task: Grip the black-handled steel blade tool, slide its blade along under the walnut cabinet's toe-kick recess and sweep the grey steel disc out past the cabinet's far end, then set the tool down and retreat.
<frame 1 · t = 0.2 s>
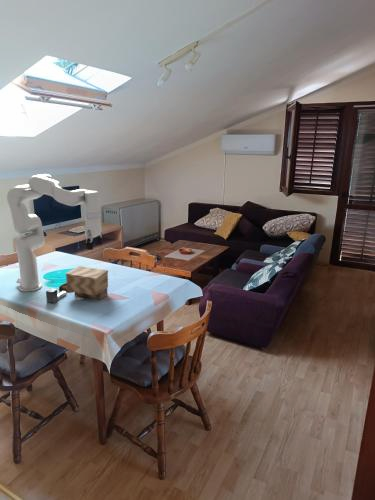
hand: (94, 246, 191), 31 cm above the table, fingers open, 9 cm apart
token: (79, 299, 201), on the table
cabinet: (88, 296, 203), on the table
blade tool: (52, 302, 195), on the table
sunglasses case: (73, 287, 216), on the table
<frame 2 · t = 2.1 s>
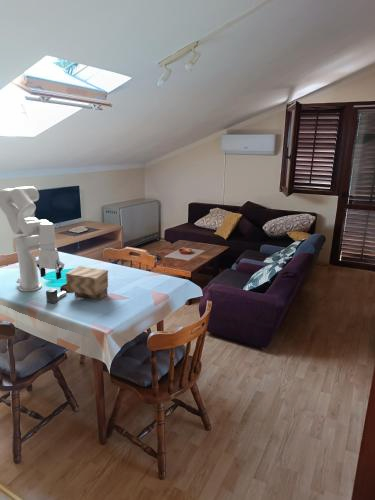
hand: (51, 277, 190), 14 cm above the table, fingers open, 9 cm apart
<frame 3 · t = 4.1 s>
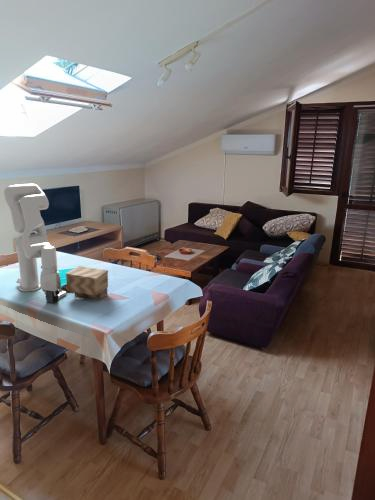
hand: (52, 300, 195), 1 cm above the table, fingers closed on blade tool, 4 cm apart
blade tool: (52, 302, 195), on the table, touching gripper
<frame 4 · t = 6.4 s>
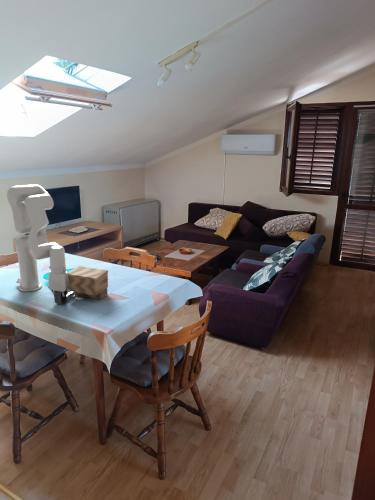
hand: (60, 301, 193), 2 cm above the table, fingers closed on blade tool, 4 cm apart
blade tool: (60, 302, 193), point 1 cm above the table, touching gripper
sunglasses case: (77, 288, 215), on the table
everything else where it was.
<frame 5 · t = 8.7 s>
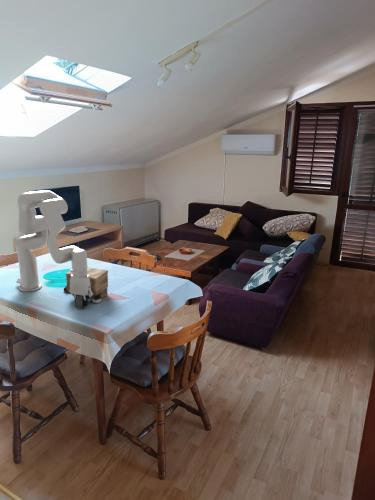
hand: (81, 305, 190), 2 cm above the table, fingers closed on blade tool, 4 cm apart
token: (96, 301, 198), on the table
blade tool: (81, 306, 190), point 1 cm above the table, touching gripper
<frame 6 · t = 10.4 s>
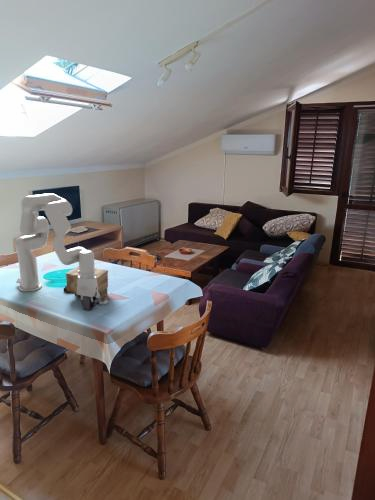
hand: (88, 306, 189), 1 cm above the table, fingers closed on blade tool, 4 cm apart
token: (103, 303, 196), on the table
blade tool: (88, 307, 189), point 1 cm above the table, touching gripper
when the fingers open (1 cm above the table, at t = 13.0 s): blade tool stays where it is, on the table.
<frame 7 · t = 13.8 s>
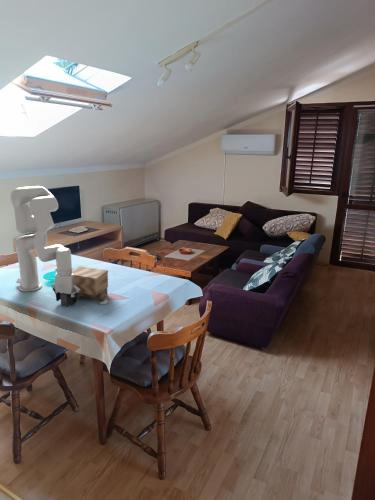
hand: (66, 301, 192), 2 cm above the table, fingers open, 9 cm apart
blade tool: (66, 304, 193), on the table
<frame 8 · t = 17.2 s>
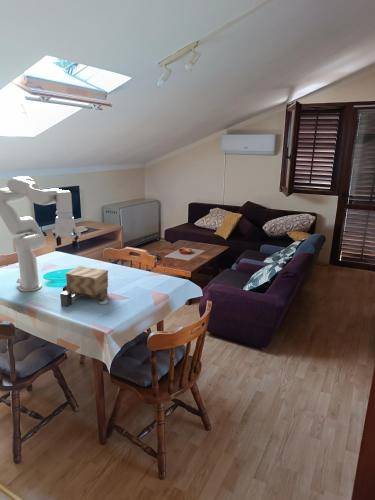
hand: (66, 246, 191), 30 cm above the table, fingers open, 9 cm apart
at the end: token inside the target area (6.9 cm from its centre), on the table; the gripper is holding nothing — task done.
